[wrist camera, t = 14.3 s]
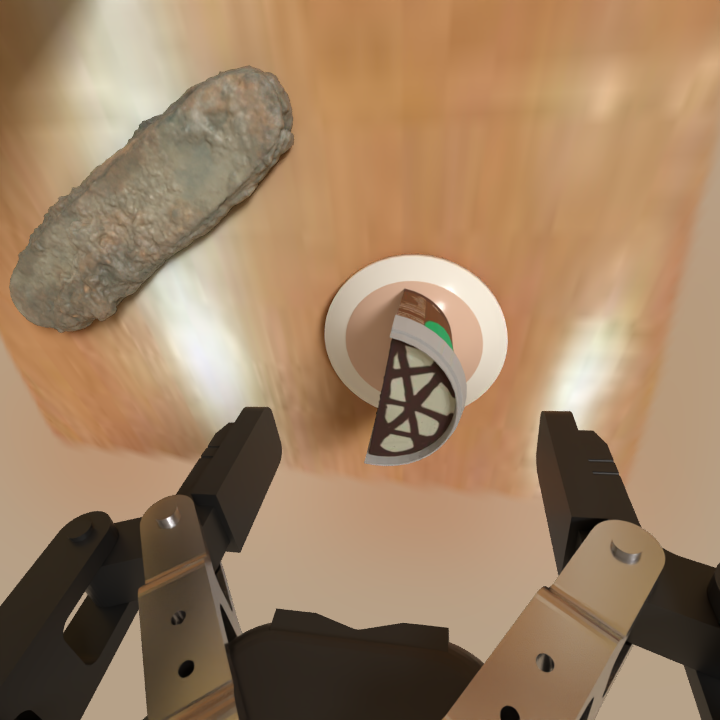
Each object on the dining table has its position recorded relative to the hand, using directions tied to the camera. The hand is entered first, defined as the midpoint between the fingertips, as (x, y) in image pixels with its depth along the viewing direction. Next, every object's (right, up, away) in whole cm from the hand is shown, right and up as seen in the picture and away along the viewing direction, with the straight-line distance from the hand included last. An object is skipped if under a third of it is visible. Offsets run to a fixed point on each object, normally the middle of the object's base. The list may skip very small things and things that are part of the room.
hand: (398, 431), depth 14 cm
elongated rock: (-20, +15, +27) cm, 37 cm away
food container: (+5, +4, +26) cm, 27 cm away
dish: (+4, +4, +27) cm, 28 cm away
